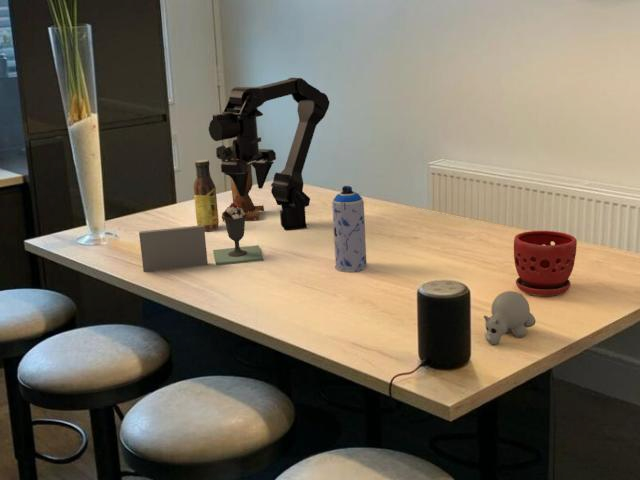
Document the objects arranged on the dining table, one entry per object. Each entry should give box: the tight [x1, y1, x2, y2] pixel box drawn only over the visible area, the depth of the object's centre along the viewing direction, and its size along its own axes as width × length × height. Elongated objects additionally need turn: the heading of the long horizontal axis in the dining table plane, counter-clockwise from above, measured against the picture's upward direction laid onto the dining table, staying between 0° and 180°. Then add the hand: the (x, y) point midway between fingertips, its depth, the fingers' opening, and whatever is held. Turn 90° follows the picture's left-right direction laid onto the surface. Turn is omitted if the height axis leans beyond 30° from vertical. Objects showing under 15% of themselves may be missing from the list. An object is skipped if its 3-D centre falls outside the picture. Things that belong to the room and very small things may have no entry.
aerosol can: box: [331, 185, 368, 273], centre depth 227 cm, size 8×8×20 cm
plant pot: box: [513, 230, 578, 297], centre depth 205 cm, size 13×13×12 cm
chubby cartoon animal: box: [483, 290, 537, 345], centre depth 181 cm, size 7×12×8 cm, turn 130°
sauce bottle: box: [193, 159, 220, 232], centre depth 269 cm, size 7×6×20 cm
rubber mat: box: [212, 244, 264, 266], centre depth 244 cm, size 12×12×1 cm
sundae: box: [221, 196, 247, 257], centre depth 242 cm, size 7×7×15 cm
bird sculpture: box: [221, 159, 265, 222], centre depth 278 cm, size 11×12×32 cm
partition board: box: [138, 225, 209, 272], centre depth 237 cm, size 16×2×10 cm, turn 99°
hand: (251, 192), depth 255 cm, fingers open, 9 cm apart
